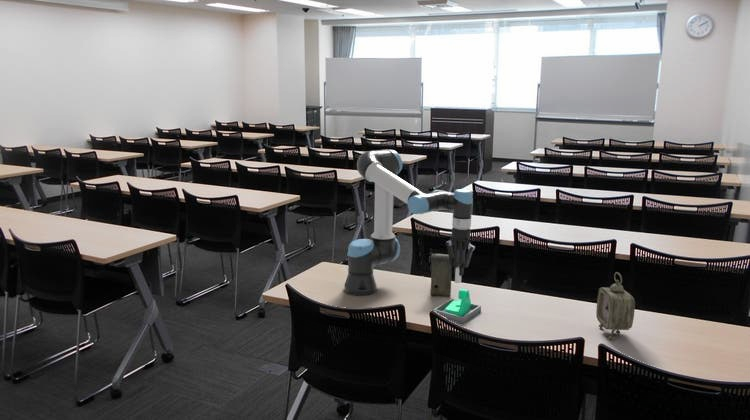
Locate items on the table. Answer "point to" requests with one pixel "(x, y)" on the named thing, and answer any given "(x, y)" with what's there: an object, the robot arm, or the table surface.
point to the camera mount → (460, 304)
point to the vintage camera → (441, 275)
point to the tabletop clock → (615, 308)
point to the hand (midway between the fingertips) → (457, 282)
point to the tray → (461, 319)
